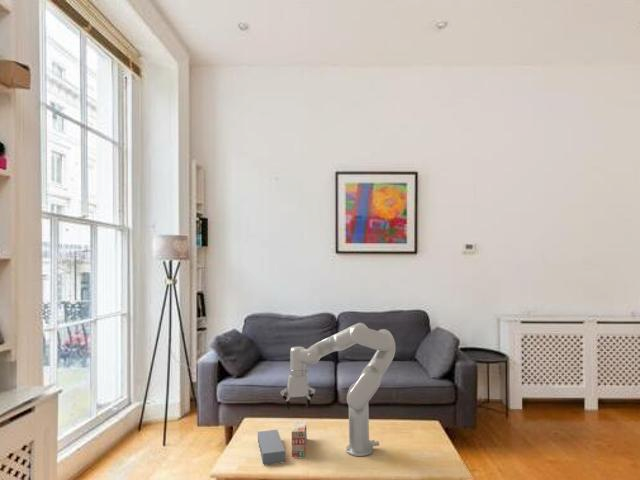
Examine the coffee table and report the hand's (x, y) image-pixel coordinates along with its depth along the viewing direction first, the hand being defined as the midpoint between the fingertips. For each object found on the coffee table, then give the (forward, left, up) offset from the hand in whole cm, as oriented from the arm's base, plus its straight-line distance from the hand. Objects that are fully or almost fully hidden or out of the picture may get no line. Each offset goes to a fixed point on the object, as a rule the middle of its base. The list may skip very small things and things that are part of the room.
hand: (297, 408), depth 210 cm
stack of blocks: (-1, 0, -20) cm, 19 cm away
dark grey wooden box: (+14, 0, -19) cm, 23 cm away
